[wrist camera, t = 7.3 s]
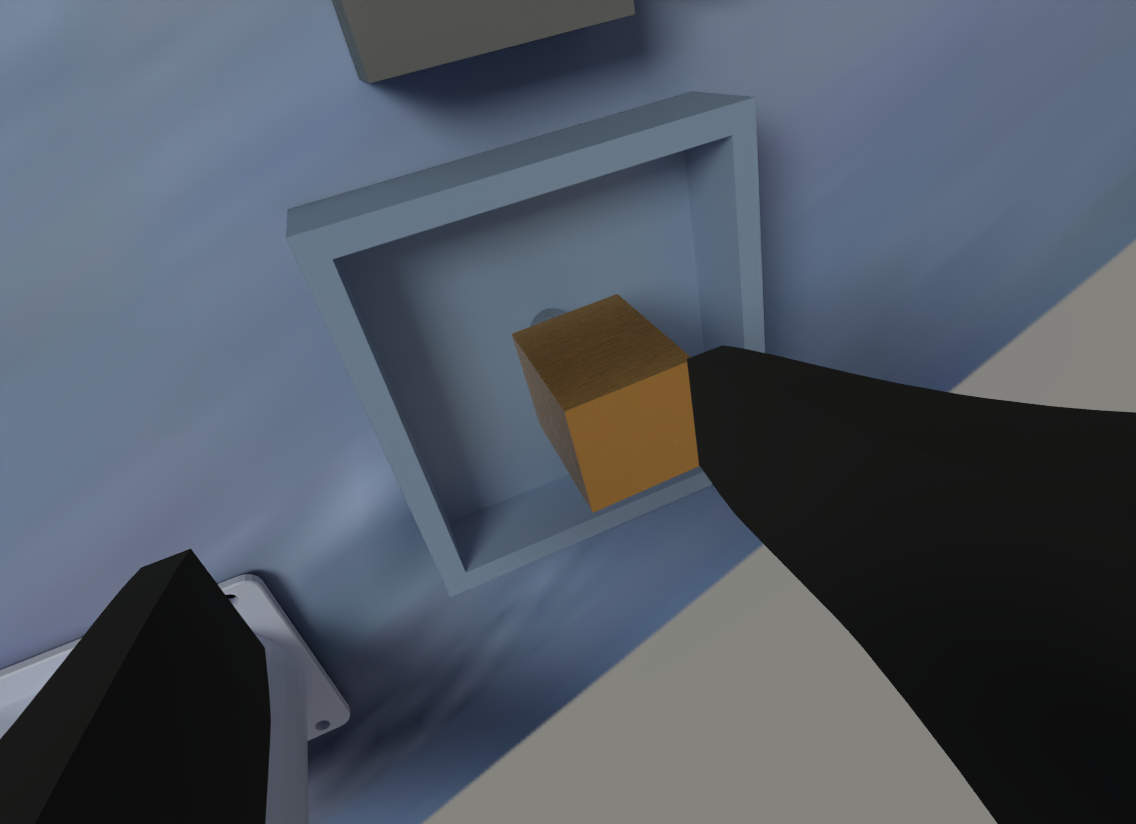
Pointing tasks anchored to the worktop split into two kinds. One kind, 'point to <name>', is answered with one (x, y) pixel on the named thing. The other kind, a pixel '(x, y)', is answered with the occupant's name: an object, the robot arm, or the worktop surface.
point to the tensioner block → (456, 29)
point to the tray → (530, 306)
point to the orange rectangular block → (610, 398)
